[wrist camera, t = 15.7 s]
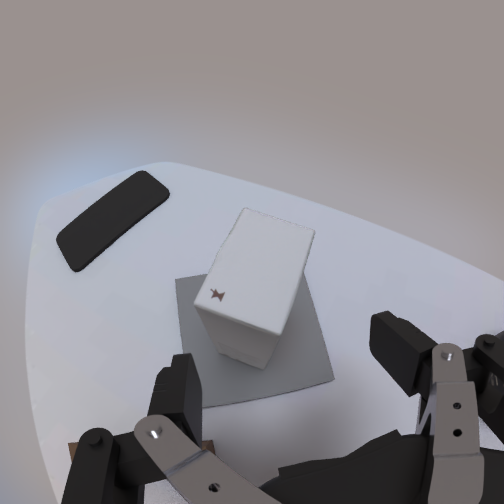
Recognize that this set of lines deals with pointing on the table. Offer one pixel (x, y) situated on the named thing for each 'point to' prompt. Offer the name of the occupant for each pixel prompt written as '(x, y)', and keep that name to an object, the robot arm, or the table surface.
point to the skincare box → (253, 286)
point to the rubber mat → (246, 376)
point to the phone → (110, 218)
